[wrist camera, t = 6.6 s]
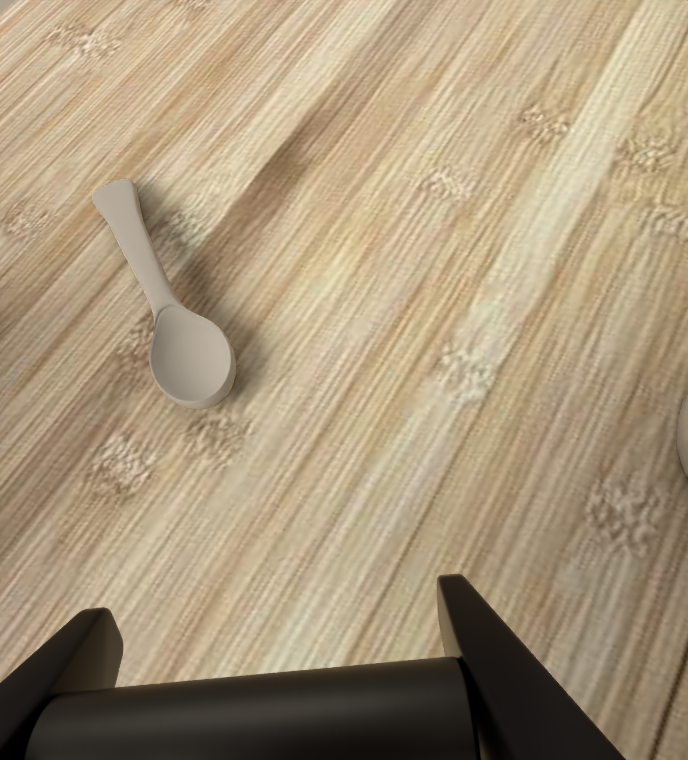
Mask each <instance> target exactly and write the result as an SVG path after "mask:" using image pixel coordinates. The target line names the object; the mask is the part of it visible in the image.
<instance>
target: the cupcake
mask: <svg viewBox="0 0 688 760" xmlns="http://www.w3.org/2000/svg"><path fill="white" fill-rule="evenodd" d="M677 451H678V454H679V457H680V461H681V464H682V466H683V469H684V472H685V474H686V476H687V478H688V394H687V396H686V397H685V399H684V400H683V402H682V406H681V409H680V413H679V418H678V423H677Z"/></svg>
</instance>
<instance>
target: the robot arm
mask: <svg viewBox="0 0 688 760" xmlns="http://www.w3.org/2000/svg"><path fill="white" fill-rule="evenodd" d="M437 605H438V618H439V625H440V630H441V636H442V641H443V647H444V652H445V657H451V656H454V657H456V658H458V659H459V661H460V662H461V664H462V666H463V669H464V672H465V675H466V678H467V681H468V685H469V689H470V693H471V698H472V702H473V707H474V712H475V718H476V724H477V730H478V737H479V744H480V754H481V760H626V759H625V758H624V757H623V756H622V755H621V753H620V752H619V751H618V750H617V749H616V748H615V747H614V745H613V744H612V743H611V742H610V741H609V740H608V739H607V738H606V736H605V735H604V734H603V733H602V732H601V731H600V730H599V729H598V727H597V726H596V725H595V724H594V723H593V722H592V721H591V720H590V718H589V717H588V716H587V715H586V714H585V713H584V712H583V710H582V709H581V708H580V707H579V706H578V705H577V704H576V703H575V701H574V700H573V699H572V698H571V697H570V696H569V695H568V694H567V692H566V691H565V690H564V689H563V688H562V687H561V686H560V684H559V683H558V682H557V681H556V680H555V679H554V678H553V677H552V675H551V674H550V673H549V672H548V671H547V670H546V669H545V668H544V666H543V665H542V664H541V663H540V662H539V661H538V660H537V659H536V657H535V656H534V655H533V654H532V653H531V652H530V651H529V649H528V648H527V647H526V646H525V645H524V644H523V643H522V642H521V640H520V639H519V638H518V637H517V636H516V635H515V634H514V633H513V631H512V630H511V629H510V628H509V627H508V626H507V625H506V623H505V622H504V621H503V620H502V619H501V618H500V617H499V616H498V614H497V613H496V612H495V611H494V610H493V609H492V608H491V607H490V605H489V604H488V603H487V602H486V601H485V600H484V599H483V598H482V596H481V595H480V594H479V593H478V592H477V591H476V590H475V588H474V587H473V586H472V585H471V584H470V583H469V582H468V581H467V579H466V578H465V577H464V576H463V575H461V574H449V575H440V576H439V577H438V578H437ZM122 655H123V640H122V637H121V634H120V632H119V630H118V627H117V625H116V622H115V620H114V618H113V615H112V613H111V611H110V610H109V609H107V608H104V607H103V608H92V609H85V610H82V611H81V612H79V613H78V614H77V615H76V616H74V617H73V618H72V619H71V620H70V621H69V622H68V623H67V624H66V625H64V626H63V627H62V628H61V629H60V630H59V631H58V632H57V633H56V634H54V635H53V636H52V637H51V638H50V639H49V640H48V641H47V642H45V643H44V644H43V645H42V646H41V647H40V648H39V649H38V650H37V651H35V652H34V653H33V654H32V655H31V656H30V657H29V658H28V659H27V660H25V661H24V662H23V663H22V664H21V665H20V666H19V667H18V668H17V669H15V670H14V671H13V672H12V673H11V674H10V675H9V676H8V677H6V678H5V679H4V680H3V681H2V682H1V683H0V760H22V755H23V751H24V747H25V744H26V741H27V738H28V736H29V733H30V731H31V729H32V726H33V724H34V722H35V721H36V719H37V717H38V715H39V714H40V712H41V711H42V709H43V708H44V707H45V706H46V705H47V703H48V702H49V701H51V700H52V699H53V698H55V697H56V696H58V695H60V694H62V693H65V692H74V691H85V690H96V689H106V688H115V684H116V680H117V676H118V672H119V668H120V664H121V660H122Z"/></svg>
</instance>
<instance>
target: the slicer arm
mask: <svg viewBox="0 0 688 760" xmlns="http://www.w3.org/2000/svg"><path fill="white" fill-rule="evenodd" d="M22 760H481V754H480V744H479V737H478V730H477V724H476V718H475V712H474V707H473V702H472V698H471V693H470V689H469V685H468V681H467V678H466V675H465V672H464V669H463V666H462V664H461V662H460V661H459V659H458V658H456V657H454V656H451V657H440V658H429V659H419V660H408V661H397V662H386V663H376V664H365V665H354V666H343V667H333V668H322V669H311V670H300V671H289V672H279V673H268V674H257V675H246V676H236V677H225V678H214V679H203V680H193V681H182V682H171V683H160V684H149V685H139V686H128V687H117V688H106V689H96V690H85V691H74V692H65V693H62V694H60V695H58V696H56V697H55V698H53V699H52V700H51V701H49V702H48V703H47V705H46V706H45V707H44V708H43V709H42V711H41V712H40V714H39V715H38V717H37V719H36V721H35V722H34V724H33V726H32V729H31V731H30V733H29V736H28V738H27V741H26V744H25V747H24V751H23V755H22Z"/></svg>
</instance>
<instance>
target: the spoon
mask: <svg viewBox="0 0 688 760" xmlns="http://www.w3.org/2000/svg"><path fill="white" fill-rule="evenodd" d="M92 200H93V203H94V205H95V207H96V208H97V210H98V211H99V212H100V214H101V215H102V216H103V217H104V219H105V220H106V221H107V223H108V224H109V226H110V228H111V229H112V231H113V233H114V235H115V237H116V239H117V242H118V244H119V246H120V248H121V250H122V252H123V254H124V256H125V258H126V260H127V261H128V263H129V265H130V267H131V269H132V271H133V273H134V274H135V276H136V278H137V280H138V282H139V284H140V286H141V287H142V289H143V291H144V293H145V295H146V297H147V299H148V302H149V304H150V306H151V309H152V312H153V316H154V332H153V338H152V342H151V346H150V352H149V362H150V367H151V371H152V374H153V377H154V379H155V382H156V383H157V385H158V387H159V388H160V389H161V391H162V392H163V393H164V394H165V395H166V396H167V397H168V398H169V399H170V400H172V401H173V402H175V403H176V404H178V405H180V406H183V407H185V408H189V409H206V408H209V407H212V406H214V405H216V404H218V403H219V402H221V401H222V400H223V399H224V398H225V397H226V396H227V394H228V393H229V391H230V390H231V388H232V386H233V383H234V380H235V375H236V358H235V354H234V350H233V347H232V345H231V343H230V341H229V339H228V338H227V336H226V335H225V333H224V332H223V331H222V330H221V329H220V328H219V327H218V326H217V325H216V324H215V323H213V322H212V321H210V320H208V319H206V318H204V317H202V316H200V315H197V314H195V313H193V312H191V311H189V310H188V309H186V308H185V307H184V306H183V304H182V303H181V302H180V300H179V299H178V298H177V296H176V294H175V292H174V290H173V288H172V287H171V284H170V282H169V280H168V278H167V276H166V274H165V271H164V269H163V267H162V265H161V262H160V260H159V258H158V255H157V253H156V250H155V248H154V246H153V243H152V241H151V239H150V236H149V234H148V232H147V229H146V227H145V224H144V222H143V218H142V213H141V208H140V202H139V197H138V192H137V188H136V186H135V184H134V183H133V182H132V181H131V180H130V179H127V178H122V179H118V180H116V181H113V182H111V183H109V184H107V185H104V186H102V187H100V188H99V189H97V190H96V191H95V192H94V193H93V195H92Z"/></svg>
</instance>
